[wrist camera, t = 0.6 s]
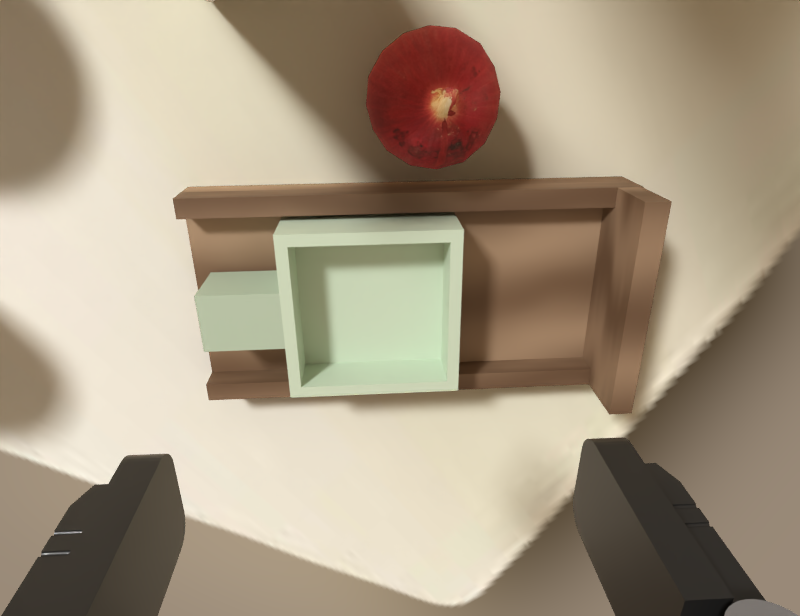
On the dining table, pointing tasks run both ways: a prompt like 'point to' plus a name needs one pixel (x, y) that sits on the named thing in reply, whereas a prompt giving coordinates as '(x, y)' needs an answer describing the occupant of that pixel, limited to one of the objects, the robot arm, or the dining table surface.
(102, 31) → the dining table surface
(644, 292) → the rail
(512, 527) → the dining table surface
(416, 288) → the sled
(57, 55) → the dining table surface
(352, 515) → the dining table surface
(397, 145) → the onion
